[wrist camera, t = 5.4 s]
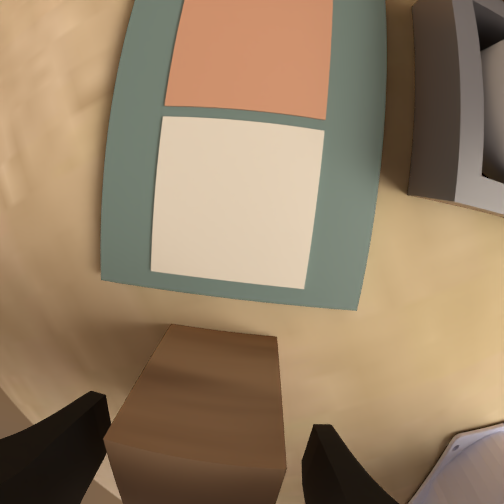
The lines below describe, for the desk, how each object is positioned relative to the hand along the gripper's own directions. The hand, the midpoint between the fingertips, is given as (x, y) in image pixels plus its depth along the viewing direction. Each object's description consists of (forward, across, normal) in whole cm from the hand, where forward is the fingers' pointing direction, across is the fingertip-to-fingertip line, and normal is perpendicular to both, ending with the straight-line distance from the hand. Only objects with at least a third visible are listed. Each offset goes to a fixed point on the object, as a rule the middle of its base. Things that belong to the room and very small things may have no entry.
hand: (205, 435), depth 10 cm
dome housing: (+4, -11, -13) cm, 18 cm away
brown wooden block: (+4, 0, 0) cm, 4 cm away
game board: (+4, 0, -10) cm, 11 cm away
